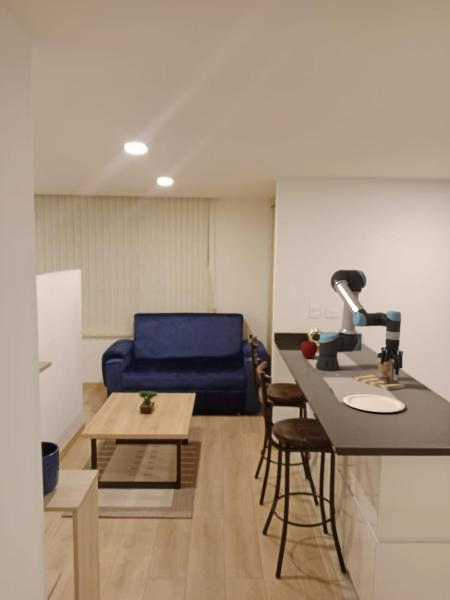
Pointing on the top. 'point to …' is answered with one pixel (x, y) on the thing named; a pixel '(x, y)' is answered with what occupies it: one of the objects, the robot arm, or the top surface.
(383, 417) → the top surface
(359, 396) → the plate
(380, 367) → the coffee cup
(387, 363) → the brown box
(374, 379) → the board
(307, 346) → the apple
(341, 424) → the top surface
